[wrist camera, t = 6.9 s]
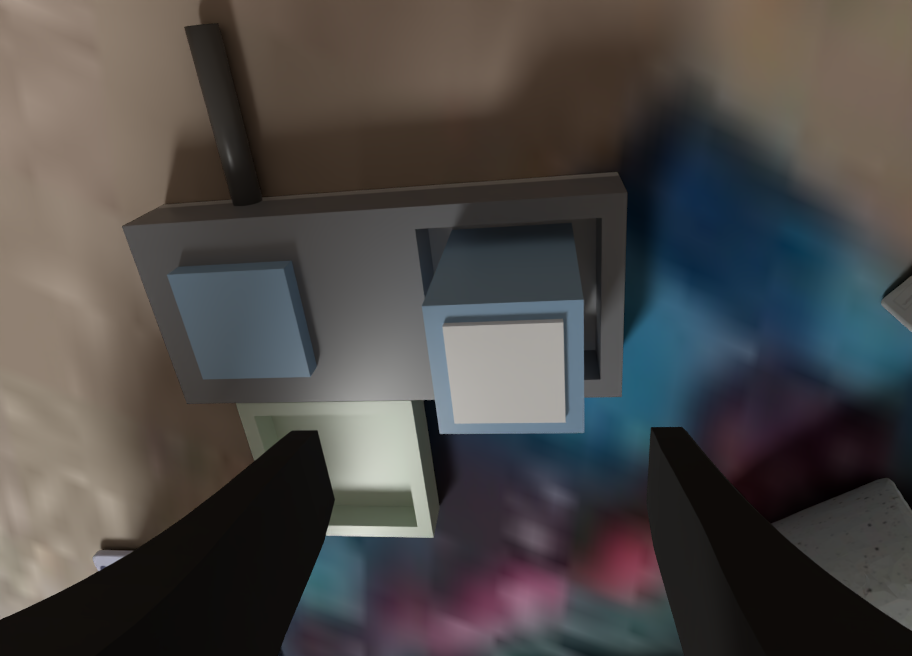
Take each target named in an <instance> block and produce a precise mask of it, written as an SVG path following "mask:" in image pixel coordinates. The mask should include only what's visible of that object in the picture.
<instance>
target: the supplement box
mask: <svg viewBox="0 0 912 656" xmlns="http://www.w3.org/2000/svg"><path fill="white" fill-rule="evenodd" d="M881 304H882V306H883V307H884V308H885V309H886V310H887V311H889V312H890V313H891V314H892V315H893V316H894V317H895V318H896V319H897V320H899V321H900V322H901V323H902V324H903V325H904V326H905V327H907V328H908V329H909V330H910V331H911V332H912V276H910V277H909V278H908V279H907V280H906V281H904V282H903V283H902V284H901V285H899V286H898V287H897V288H896V289H894V290H893V291H892V292H891V293H889V294H888V295H887V296H886V297H885V298H883V299H882V301H881Z"/></svg>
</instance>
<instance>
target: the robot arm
mask: <svg viewBox="0 0 912 656" xmlns="http://www.w3.org/2000/svg"><path fill="white" fill-rule="evenodd" d="M334 502H335V498H334V494H333V490H332V486H331V482H330V478H329V474H328V470H327V466H326V462H325V458H324V454H323V450H322V446H321V442H320V438H319V434H318V430H292V431H291V432H289V433H288V434H287V435H285V436H284V437H283V438H281V439H280V440H279V441H278V442H277V443H275V444H274V445H273V446H272V447H271V448H269V449H268V450H267V451H266V452H265V453H263V454H262V455H261V456H260V457H259V458H258V459H256V460H255V461H254V462H253V463H252V464H250V465H249V466H248V467H247V468H246V469H244V470H243V471H242V472H241V473H240V474H238V475H237V476H236V477H235V478H234V479H232V480H231V481H230V482H229V483H228V484H226V485H225V486H224V487H223V488H221V489H220V490H219V491H218V492H216V493H215V494H214V495H212V496H211V497H210V498H208V499H207V500H206V501H205V502H203V503H202V504H201V505H199V506H198V507H197V508H195V509H194V510H193V511H192V512H190V513H189V514H188V515H186V516H185V517H184V518H182V519H181V520H179V521H178V522H177V523H175V524H174V525H172V526H171V527H170V528H168V529H167V530H165V531H164V532H162V533H161V534H159V535H158V536H156V537H155V538H153V539H152V540H150V541H148V542H147V543H145V544H144V545H142V546H141V547H139V548H138V549H136V550H134V551H124V550H99V551H98V552H97V553H96V554H95V555H94V556H93V562H94V564H95V566H96V568H97V570H98V572H96V573H95V574H93V575H91V576H89V577H88V578H86V579H84V580H82V581H80V582H78V583H76V584H75V585H73V586H71V587H69V588H67V589H65V590H63V591H61V592H59V593H57V594H55V595H53V596H51V597H49V598H47V599H45V600H42V601H40V602H38V603H36V604H34V605H32V606H30V607H28V608H26V609H23V610H21V611H19V612H17V613H15V614H12V615H10V616H8V617H5V618H3V619H1V620H0V656H278V653H279V650H280V648H281V645H282V642H283V640H284V637H285V634H286V632H287V630H288V627H289V625H290V622H291V620H292V618H293V615H294V613H295V610H296V608H297V606H298V603H299V601H300V599H301V596H302V594H303V591H304V589H305V587H306V584H307V582H308V580H309V577H310V575H311V572H312V570H313V567H314V565H315V563H316V560H317V558H318V555H319V553H320V550H321V548H322V545H323V543H324V540H325V536H326V533H327V529H328V525H329V522H330V518H331V514H332V510H333V506H334ZM647 509H648V515H649V522H650V528H651V534H652V540H653V546H654V551H655V554H656V558H657V562H658V565H659V569H660V572H661V576H662V579H663V583H664V586H665V590H666V593H667V597H668V600H669V604H670V607H671V611H672V614H673V618H674V621H675V625H676V628H677V632H678V635H679V639H680V642H681V646H682V649H683V653H684V656H912V631H911V630H910V629H908V628H907V627H905V626H903V625H902V624H900V623H899V622H897V621H896V620H894V619H893V618H891V617H890V616H888V615H887V614H885V613H884V612H882V611H881V610H879V609H878V608H876V607H875V606H873V605H872V604H871V603H869V602H868V601H866V600H865V599H863V598H862V597H861V596H859V595H858V594H856V593H855V592H854V591H852V590H851V589H849V588H848V587H847V586H845V585H844V584H842V583H841V582H840V581H838V580H837V579H836V578H834V577H833V576H832V575H830V574H829V573H828V572H826V571H825V570H824V569H823V568H821V567H820V566H819V565H818V564H816V563H815V562H814V561H813V560H812V559H810V558H809V557H808V556H807V555H805V554H804V553H803V552H802V551H801V550H799V549H798V548H797V547H796V546H795V545H793V544H792V543H791V542H790V541H789V540H788V539H787V538H786V537H785V536H783V535H782V534H781V533H780V532H779V531H778V530H777V529H776V528H775V527H774V526H773V525H772V524H771V523H769V522H768V521H767V520H766V519H765V518H764V517H763V516H762V515H761V514H760V513H759V512H758V511H757V510H756V509H755V508H754V507H753V506H752V505H751V504H750V503H749V502H748V501H747V500H746V499H745V498H744V497H743V496H742V495H741V493H740V492H739V491H738V490H737V489H736V488H735V487H734V486H733V485H732V484H731V483H730V482H729V481H728V480H727V479H726V477H725V476H724V475H723V474H722V473H721V472H720V471H719V470H718V468H717V467H716V466H715V465H714V464H713V463H712V461H711V460H710V459H709V458H708V457H707V456H706V454H705V453H704V452H703V451H702V450H701V448H700V447H699V446H698V445H697V444H696V442H695V441H694V440H693V439H692V437H691V436H690V435H689V434H688V432H687V431H686V430H685V429H683V428H682V427H651V434H650V452H649V469H648V486H647Z"/></svg>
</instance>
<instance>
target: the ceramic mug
mask: <svg viewBox="0 0 912 656" xmlns="http://www.w3.org/2000/svg"><path fill="white" fill-rule="evenodd" d="M771 524H772V525H773V526H774V527H775V528H776V529H777V530H778V531H779V532H780V533H781V534H782V535H783V536H785V537H786V538H787V539H788V540H789V541H790V542H791V543H792V544H793V545H795V546H796V547H797V548H798V549H799V550H801V551H802V552H803V553H804V554H805V555H807V556H808V557H809V558H810V559H812V560H813V561H814V562H815V563H816V564H818V565H819V566H820V567H821V568H823V569H824V570H825V571H826V572H828V573H829V574H830V575H832V576H833V577H834V578H836V579H837V580H838V581H840V582H841V583H842V584H844V585H845V586H847V587H848V588H849V589H851V590H852V591H854V592H855V593H856V594H858V595H859V596H861V597H862V598H863V599H865V600H866V601H868V602H869V603H871V604H872V605H873V606H875V607H876V608H878V609H879V610H881V611H882V612H884V613H885V614H887V615H888V616H890V617H891V618H893V619H894V620H896V621H897V622H899V623H900V624H902V625H903V626H905V627H907V628H908V629H910V630H911V631H912V510H911V509H910V507H909V505H908V503H907V502H906V501H905V500H904V498H903V496H902V495H901V493H900V491H899V490H898V489H897V487H896V485H895V483H894V482H893V481H892V480H890V479H888V478H882V479H878V480H875V481H873V482H871V483H868V484H866V485H863V486H861V487H859V488H856V489H854V490H852V491H849V492H847V493H844V494H842V495H839V496H837V497H834V498H832V499H829V500H827V501H824V502H822V503H819V504H817V505H814V506H812V507H809V508H807V509H804V510H802V511H800V512H797V513H795V514H793V515H790V516H788V517H786V518H784V519H781V520H779V521H776V522H774V523H771Z"/></svg>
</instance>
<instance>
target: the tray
mask: <svg viewBox="0 0 912 656" xmlns="http://www.w3.org/2000/svg"><path fill="white" fill-rule="evenodd" d="M236 406H237V409H238V412H239V415H240V419H241V422H242V425H243V428H244V431H245V434H246V437H247V440H248V443H249V446H250V450H251V453H252V456H253V459H254V461H255V460H256V459H258V458H259V457H260V456H261V455H262V454H263V453H265V452H266V451H267V450H268V449H269V448H271V447H272V446H273V445H274V444H275V443H277V442H278V441H279V440H280V439H281V438H283V437H284V436H285V435H287V434H288V433H289V432H291V431H292V430H318V434H319V438H320V442H321V446H322V450H323V454H324V458H325V462H326V466H327V470H328V474H329V478H330V482H331V486H332V490H333V494H334V498H335V502H334V506H333V510H332V514H331V518H330V522H329V525H328V529H327V533H326V536H374V537H425V538H433V537H434V532H435V527H436V522H437V517H438V512H439V500H438V494H437V487H436V480H435V474H434V467H433V461H432V454H431V447H430V441H429V434H428V428H427V421H426V414H425V408H424V401H423V400H391V401H329V402H267V403H236Z"/></svg>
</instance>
